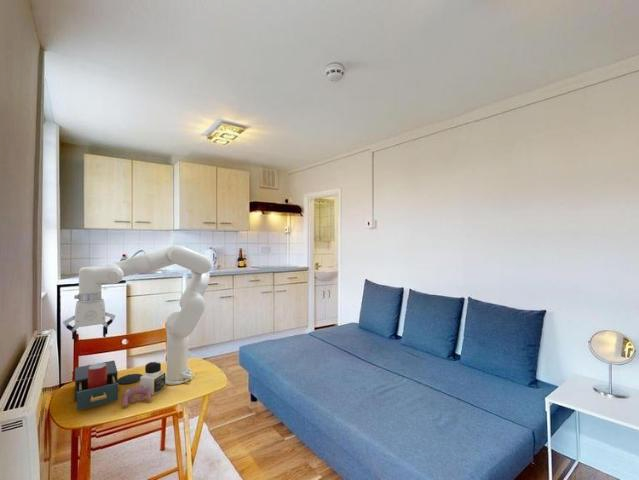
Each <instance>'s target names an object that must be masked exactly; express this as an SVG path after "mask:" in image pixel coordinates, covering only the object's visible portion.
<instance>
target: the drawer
mask: <svg viewBox="0 0 639 480" xmlns="http://www.w3.org/2000/svg"><path fill="white" fill-rule="evenodd" d="M116 401H119V384H118V383H116V382H115V378H114V374H113V375H109V376H107V385H105V386H101V387H96V388H92V389H88V380H85V381H80V382H79V391H78V392H77V401H76V411H81V410H85V409H86V410H87V409H89V408H93V407H97V406H100V405H105V404H109V403H114V402H116Z"/></svg>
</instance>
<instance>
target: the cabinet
mask: <svg viewBox="0 0 639 480" xmlns="http://www.w3.org/2000/svg"><path fill="white" fill-rule="evenodd" d="M102 363H106V364H107V376H109V375H113V374H114V378H115V382H116V383H117V381H118V373H119V372H118V368H117V365H116V361H115V360H114V359H113V360H109V361H103V362H102ZM93 364H94V363H93ZM93 364H88V365H82V366H77V367H75V372H74V373H75V374H74V402H77V392H78V391H79V382H80V381H85V380H88V368H89V366H91V365H93Z"/></svg>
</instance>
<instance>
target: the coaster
mask: <svg viewBox="0 0 639 480" xmlns="http://www.w3.org/2000/svg"><path fill="white" fill-rule="evenodd" d="M143 375H144V374H141V373H130V374H126V375H124V376H121V377H119V378H117V383H118V385H120V386H126V385H127V386H128V385H132V384H136V383H138V382H139V383H140V377H141V376H143Z"/></svg>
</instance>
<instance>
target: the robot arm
mask: <svg viewBox="0 0 639 480" xmlns="http://www.w3.org/2000/svg"><path fill="white" fill-rule="evenodd" d="M174 265H178V266H180V267H182V268H184V269H187V270H190V271H191V277H190V280H189V282H188V284H187V286H186V288H185V290H184V292H183V293H182V295H181V296H180V298H179V301H178V304H179V307H180V308H181V309H180V311H173V312H172V313H171V314H169V315H168V317H167V318H166V321H165V332H166V373H165V385H168V386H169V385H170V386H171V385H172V386H176V385H180V384H185V383H187V382H188V381H190V380H193V378H194V377H195V372H192V371H191V368H190V367H189V362H190V361H189V360H190V359H189V355H190V354H189V351H190V347H189V346H190V338H189V337H190V335H191V334H192V333H193V331H194V330H195V328H196V326H197V324H198V323H199V321H200V319H201V317H202V315H203V313H204V311H205V308H206V301H205V298H204V297H203V296H204V294H205V293H206V290H207V288H208V286H209V284H210V277H211V276H210V274H211V273H210V271H211V270H212V267H213V263H212V260H211V258H210V257H208V256H206V255H204V254H201V253H199V252H197V251H195V250H192V249H190V248H188V247H186V246H183V245H180V244H179V245H178V244H173V245H169V246H166V247H163V248H159V249H155V250H153V251H151V252H146V253H143V254H139V255H136V256H133V257H130V258H126V259H123V260H119V261H116V262H112V263H110V264H107V265H105V266H104V267H103V266H102V267H100V266H96V265H95V266H93V265H92V266H83V267H80V268H79V270H78V294H75V295H74V299H75V300H77V301H76V303H75V308H74V315H72V316H70V317H69V318H66V319H65V320H63V322H62V324H63V325H64V326H65V327H66V329H67V330H69V331H70V332H71V340H73V341H74V342H75V343H76V342H77V341H78V337H77V336H78V335H77V333H78V331H77V329H78V328H82V327H91V326H98V325H99V326H100V325H102V337H103V338H106V335H108V332H109V331H108V328H109V326H110V325H111V324H112V323H113V322H114V320H115V318H116V315H115V314H114V313H110V312H107V311H106V305H105V303H106V302H105V300H104V299H103V298H102V285H103V284H104V285H116V284H118V283H120V282H121V281H123V279H124V278H127V277H129V276H133V275H136V274H142V273H146V274H147V273H152V272H155V271H158V270H161V269H163V268H167V267H170V266H174ZM107 317H108V318H109V319H108V320H107V321H106V318H107ZM72 321H74V325H73V326H72V325H71V324H70V323H71V322H72Z"/></svg>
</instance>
